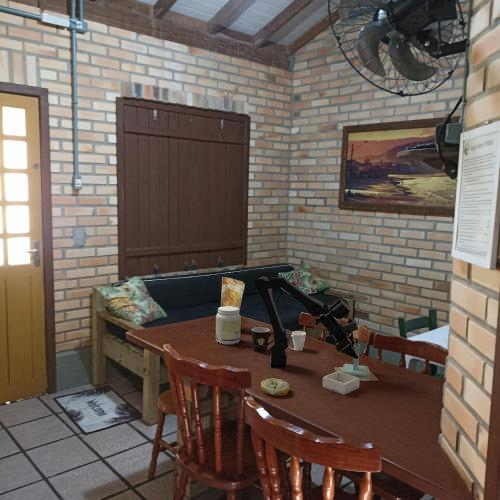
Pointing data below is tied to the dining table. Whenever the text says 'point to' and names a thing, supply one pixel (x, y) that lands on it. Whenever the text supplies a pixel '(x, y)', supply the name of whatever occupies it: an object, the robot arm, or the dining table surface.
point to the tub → (341, 382)
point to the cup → (298, 340)
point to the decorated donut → (275, 387)
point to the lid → (356, 366)
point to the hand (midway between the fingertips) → (358, 354)
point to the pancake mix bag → (232, 292)
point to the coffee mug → (260, 339)
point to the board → (367, 378)
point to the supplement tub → (228, 325)
